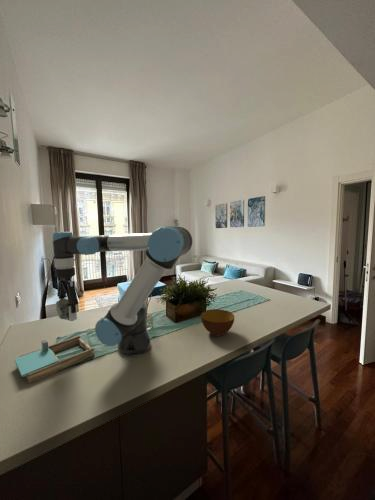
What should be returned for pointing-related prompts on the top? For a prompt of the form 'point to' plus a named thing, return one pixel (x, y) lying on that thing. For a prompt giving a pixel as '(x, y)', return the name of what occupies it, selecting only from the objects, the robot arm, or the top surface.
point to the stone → (63, 309)
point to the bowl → (217, 321)
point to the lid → (36, 360)
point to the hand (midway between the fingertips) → (68, 316)
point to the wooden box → (62, 363)
